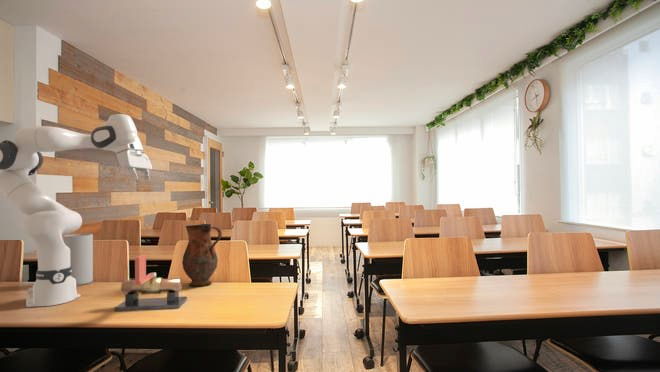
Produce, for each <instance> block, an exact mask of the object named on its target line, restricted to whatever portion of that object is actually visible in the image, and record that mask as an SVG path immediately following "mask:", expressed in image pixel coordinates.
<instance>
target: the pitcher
mask: <svg viewBox="0 0 660 372" xmlns="http://www.w3.org/2000/svg"><path fill="white" fill-rule="evenodd" d="M185 228H186V232H187V235H188V242H187V246H186V248H185V250H184V253H183V256H182V261H181V262H182V268H183V271H184V273H185V275H186V276H187V277H188V278H189V279H190V280H191V282H189V283H188V286H189V287H193V288H204V287H208V286H211V285H212V281H210V280H209V279H210V278H211V277H212V275H213V274H214V273H215V272H216V269H217V267H218V260H219V259H218V256H217V252H216V250H215V246H216V245H217V244H218V243H219V241H220V240H221V238H222V236H223V233H222V230H221V229H220V228H219V227H218V226H212V224H210V223H202V224H201V223H200V224H194V225H186V226H185ZM212 229H214V230H216V231H217V234H218V236H217V238H216V240H214V242H212V237H211V232H212Z"/></svg>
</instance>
